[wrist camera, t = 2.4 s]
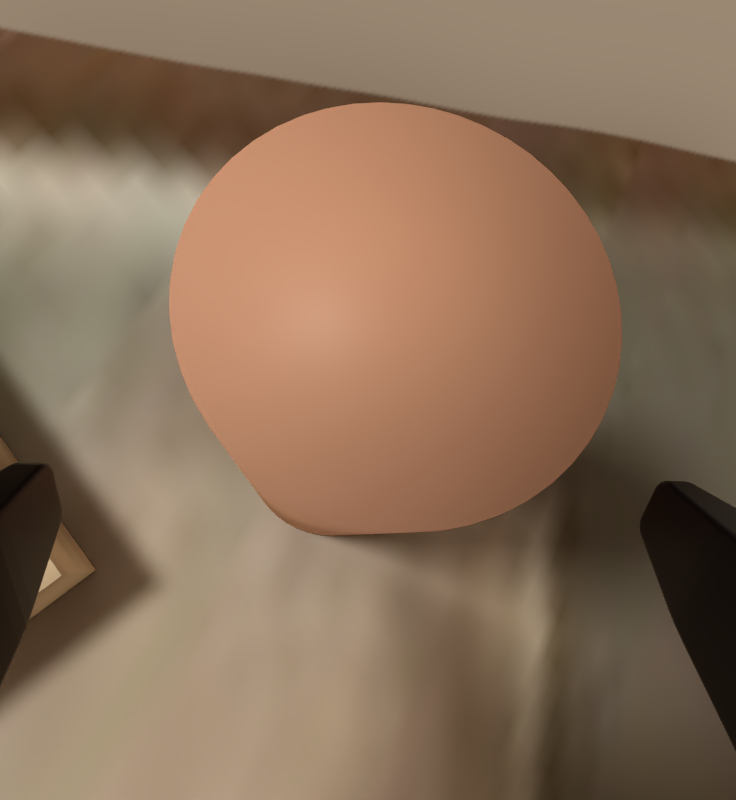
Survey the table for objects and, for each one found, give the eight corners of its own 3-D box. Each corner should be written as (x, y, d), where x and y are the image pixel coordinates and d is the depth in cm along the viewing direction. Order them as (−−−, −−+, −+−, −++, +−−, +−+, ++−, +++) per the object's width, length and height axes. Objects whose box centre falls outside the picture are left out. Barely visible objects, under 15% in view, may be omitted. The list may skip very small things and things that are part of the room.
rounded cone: (411, 536, 18) (643, 536, 6) (243, 534, 17) (142, 528, 5) (411, 378, 19) (602, 126, 7) (254, 369, 18) (192, 79, 7)
